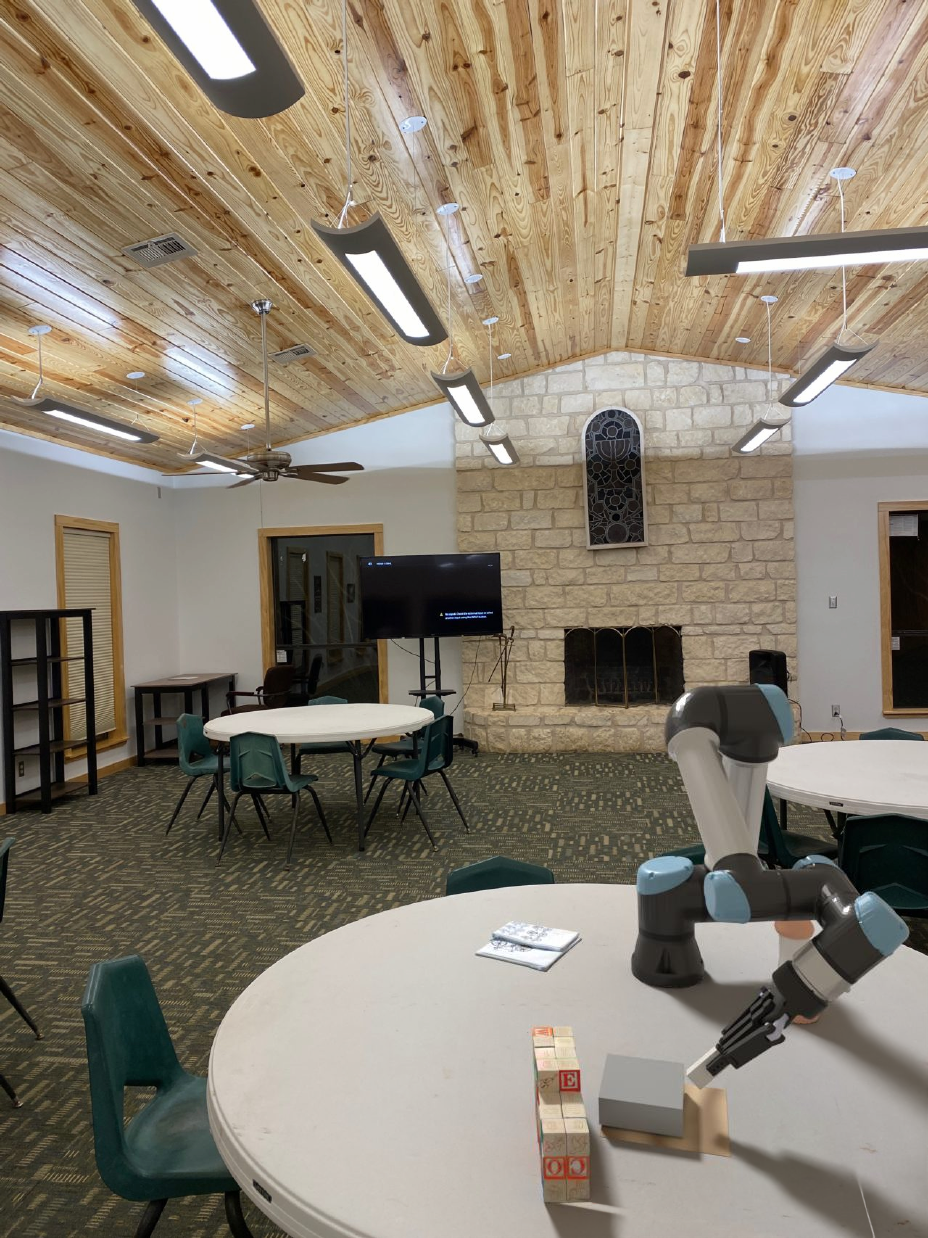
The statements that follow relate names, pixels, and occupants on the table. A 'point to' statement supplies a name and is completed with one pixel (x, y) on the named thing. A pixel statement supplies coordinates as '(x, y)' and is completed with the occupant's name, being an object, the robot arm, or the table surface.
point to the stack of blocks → (560, 1116)
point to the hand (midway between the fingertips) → (693, 1080)
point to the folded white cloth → (542, 939)
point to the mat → (689, 1125)
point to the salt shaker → (793, 946)
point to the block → (642, 1095)
